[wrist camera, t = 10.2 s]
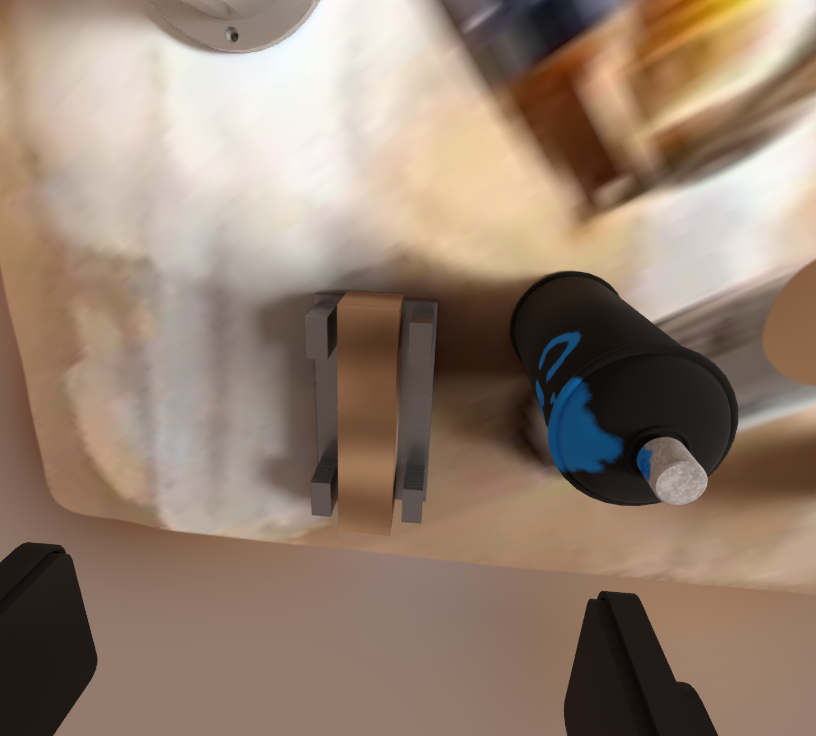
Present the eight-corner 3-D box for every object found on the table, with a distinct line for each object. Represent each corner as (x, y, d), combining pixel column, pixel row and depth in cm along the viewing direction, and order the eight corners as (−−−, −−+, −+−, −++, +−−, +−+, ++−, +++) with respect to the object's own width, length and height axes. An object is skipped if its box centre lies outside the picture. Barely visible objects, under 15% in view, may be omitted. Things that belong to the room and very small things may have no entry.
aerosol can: (626, 264, 36) (817, 373, 17) (623, 373, 39) (784, 566, 20) (506, 277, 37) (566, 394, 18) (512, 383, 40) (569, 575, 21)
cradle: (316, 292, 38) (300, 308, 34) (438, 299, 38) (437, 316, 34) (321, 486, 45) (309, 520, 40) (426, 494, 44) (424, 528, 40)
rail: (348, 290, 37) (337, 304, 33) (403, 293, 37) (398, 308, 33) (347, 499, 44) (338, 531, 40) (394, 503, 43) (389, 535, 40)
